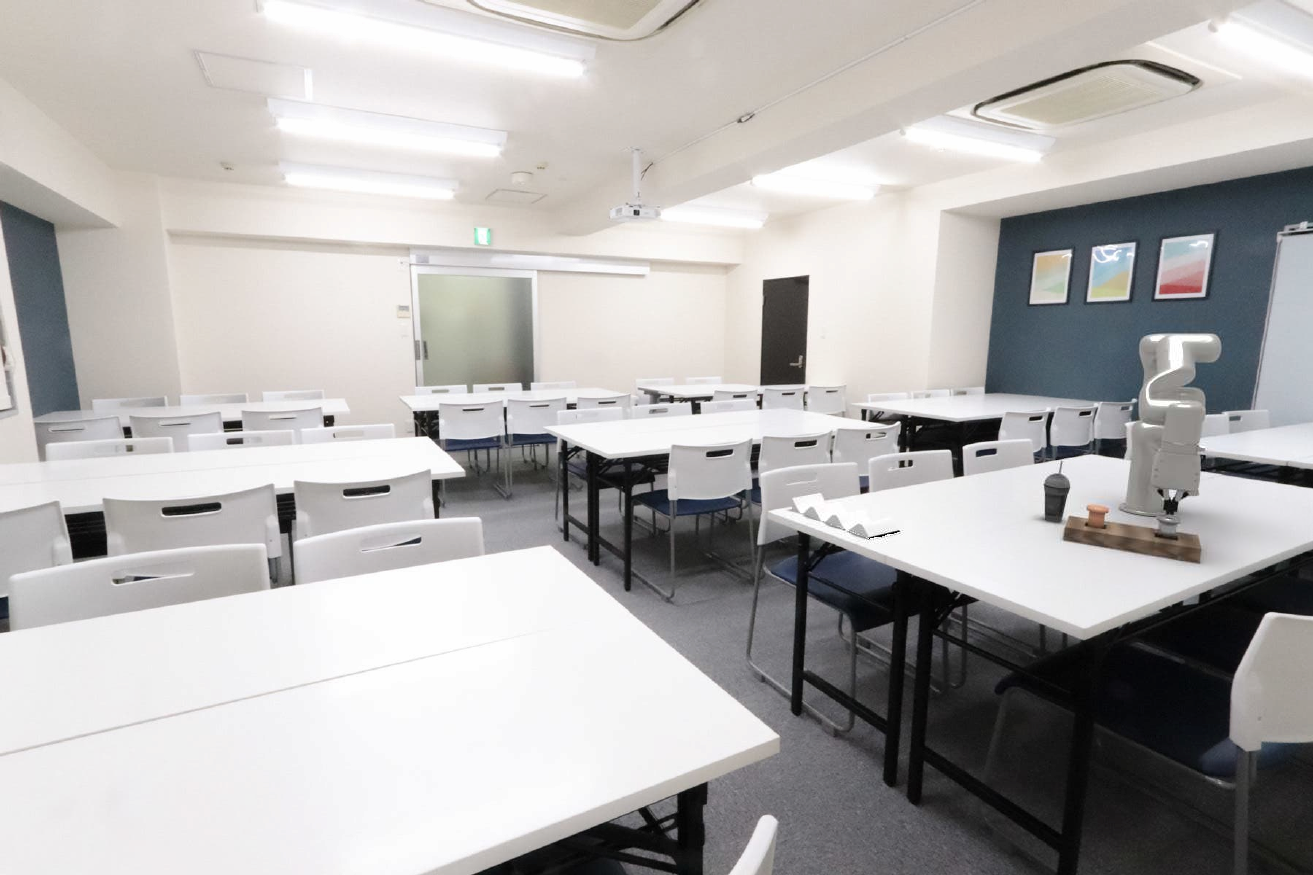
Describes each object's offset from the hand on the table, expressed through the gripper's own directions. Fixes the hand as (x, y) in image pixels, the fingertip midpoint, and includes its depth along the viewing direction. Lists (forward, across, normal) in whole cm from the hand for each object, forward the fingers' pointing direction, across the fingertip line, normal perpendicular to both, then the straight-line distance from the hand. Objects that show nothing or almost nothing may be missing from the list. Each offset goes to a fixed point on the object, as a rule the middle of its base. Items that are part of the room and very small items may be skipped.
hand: (1169, 513), depth 166 cm
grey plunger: (+8, 0, 0) cm, 8 cm away
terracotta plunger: (+8, +16, 0) cm, 18 cm away
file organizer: (+12, +81, +28) cm, 87 cm away
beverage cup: (+11, +27, -13) cm, 32 cm away
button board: (+11, +8, 0) cm, 13 cm away
